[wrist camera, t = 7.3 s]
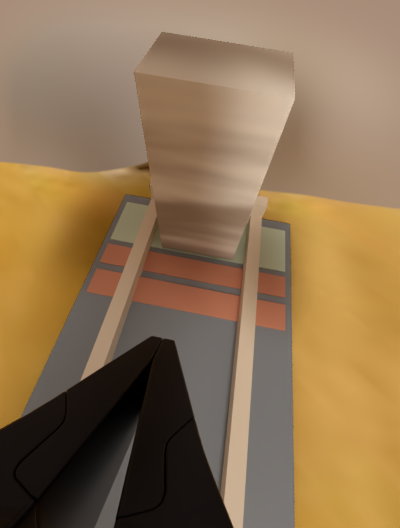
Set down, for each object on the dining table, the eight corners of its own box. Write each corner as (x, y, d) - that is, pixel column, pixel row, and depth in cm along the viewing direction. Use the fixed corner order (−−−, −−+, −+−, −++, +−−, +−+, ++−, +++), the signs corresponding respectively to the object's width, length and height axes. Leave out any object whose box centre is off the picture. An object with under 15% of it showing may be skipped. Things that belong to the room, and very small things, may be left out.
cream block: (232, 260, 19) (294, 98, 8) (161, 246, 19) (134, 71, 8) (237, 222, 21) (293, 52, 10) (173, 211, 21) (161, 31, 10)
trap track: (293, 623, 10) (330, 704, 8) (-36, 545, 11) (-106, 596, 8) (288, 226, 22) (303, 203, 19) (126, 196, 22) (118, 170, 19)
